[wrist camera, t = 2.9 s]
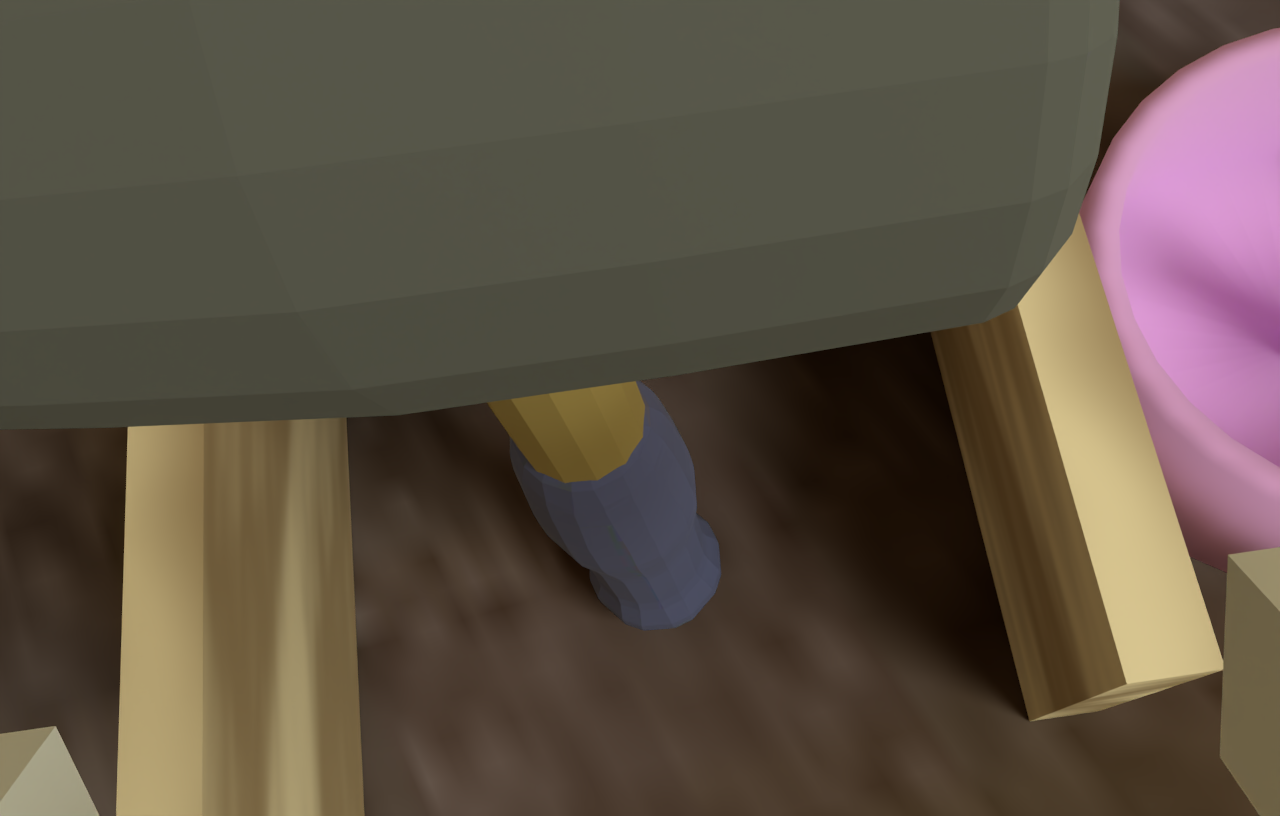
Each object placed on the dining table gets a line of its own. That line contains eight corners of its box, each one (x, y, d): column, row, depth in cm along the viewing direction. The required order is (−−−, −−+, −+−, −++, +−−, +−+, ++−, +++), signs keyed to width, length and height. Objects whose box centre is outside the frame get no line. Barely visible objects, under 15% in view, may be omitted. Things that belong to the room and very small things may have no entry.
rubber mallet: (846, 444, 36) (1051, -870, 8) (875, 682, 33) (1336, -17, 5) (469, 478, 37) (-516, -556, 9) (468, 709, 34) (-917, 260, 6)
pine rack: (301, 830, 34) (115, 837, 24) (285, 208, 42) (139, 33, 32) (1099, 710, 32) (1225, 669, 23) (926, 86, 40) (967, -136, 31)
